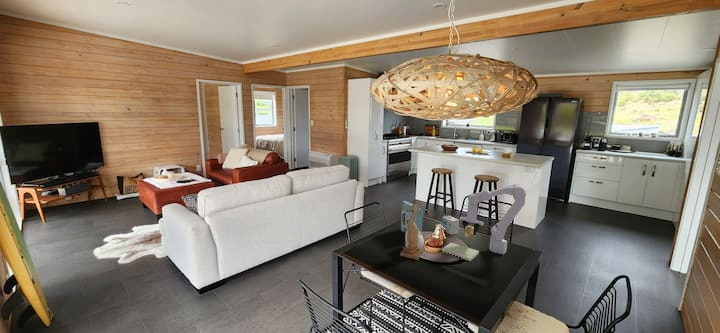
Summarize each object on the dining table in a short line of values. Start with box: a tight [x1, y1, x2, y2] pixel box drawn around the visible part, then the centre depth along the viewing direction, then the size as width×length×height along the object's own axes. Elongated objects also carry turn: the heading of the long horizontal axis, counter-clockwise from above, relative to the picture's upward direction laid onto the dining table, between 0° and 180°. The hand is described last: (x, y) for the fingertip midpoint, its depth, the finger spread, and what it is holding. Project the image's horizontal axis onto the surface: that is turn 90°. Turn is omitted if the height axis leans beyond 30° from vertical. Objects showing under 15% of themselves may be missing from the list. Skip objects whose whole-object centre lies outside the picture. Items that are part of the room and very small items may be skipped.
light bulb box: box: [441, 215, 460, 235], centre depth 213 cm, size 11×7×11 cm, turn 25°
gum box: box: [400, 200, 424, 234], centre depth 202 cm, size 19×5×23 cm, turn 22°
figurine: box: [404, 229, 425, 250], centre depth 181 cm, size 11×11×15 cm
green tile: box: [440, 242, 480, 262], centre depth 181 cm, size 18×14×2 cm
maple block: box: [464, 224, 477, 239], centre depth 188 cm, size 5×5×6 cm
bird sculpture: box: [399, 202, 423, 261], centre depth 173 cm, size 11×12×32 cm
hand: (470, 233), depth 188 cm, fingers closed on maple block, 5 cm apart
